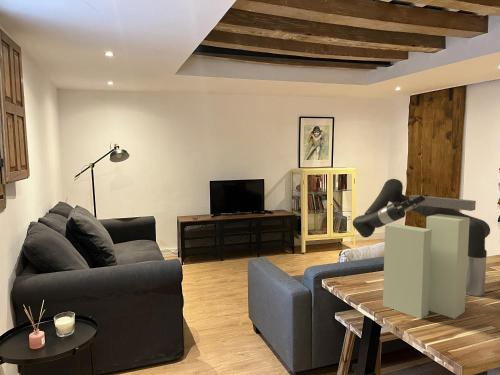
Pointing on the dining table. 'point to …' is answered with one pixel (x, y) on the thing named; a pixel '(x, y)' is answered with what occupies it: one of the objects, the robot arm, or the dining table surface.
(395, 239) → the block
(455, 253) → the stand
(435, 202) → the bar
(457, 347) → the dining table surface
